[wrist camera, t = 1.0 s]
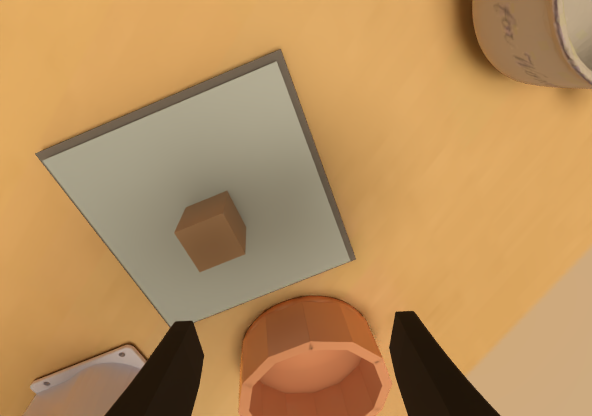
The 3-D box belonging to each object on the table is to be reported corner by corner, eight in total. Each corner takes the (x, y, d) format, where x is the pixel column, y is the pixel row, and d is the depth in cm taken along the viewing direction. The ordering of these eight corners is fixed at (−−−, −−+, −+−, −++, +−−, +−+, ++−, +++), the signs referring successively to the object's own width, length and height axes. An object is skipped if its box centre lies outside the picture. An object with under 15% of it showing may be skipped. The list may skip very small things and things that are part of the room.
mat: (174, 323, 27) (172, 331, 26) (42, 150, 20) (35, 153, 19) (353, 253, 26) (355, 259, 25) (279, 49, 19) (280, 49, 19)
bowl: (272, 406, 33) (275, 461, 28) (218, 327, 28) (212, 378, 23) (382, 364, 32) (403, 414, 28) (348, 276, 27) (367, 319, 23)
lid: (175, 324, 26) (162, 368, 22) (47, 158, 19) (0, 180, 16) (348, 256, 25) (364, 290, 22) (276, 61, 19) (281, 60, 15)
